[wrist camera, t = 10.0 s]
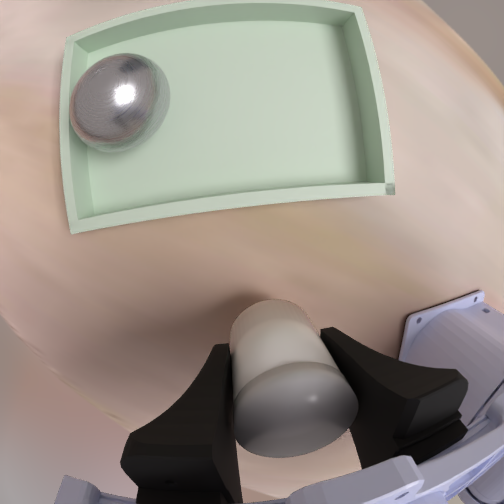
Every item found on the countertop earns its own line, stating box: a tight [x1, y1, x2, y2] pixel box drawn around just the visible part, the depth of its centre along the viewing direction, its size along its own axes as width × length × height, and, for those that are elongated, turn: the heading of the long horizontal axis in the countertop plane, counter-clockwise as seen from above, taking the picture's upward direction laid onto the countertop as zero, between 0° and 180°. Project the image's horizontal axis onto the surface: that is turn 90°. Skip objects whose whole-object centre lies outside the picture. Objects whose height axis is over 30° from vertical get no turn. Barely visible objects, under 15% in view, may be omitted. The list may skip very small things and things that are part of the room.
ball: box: [69, 53, 170, 152], centre depth 9 cm, size 5×5×5 cm
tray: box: [59, 0, 395, 234], centre depth 11 cm, size 16×11×2 cm
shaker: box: [230, 299, 358, 458], centre depth 11 cm, size 4×4×6 cm
